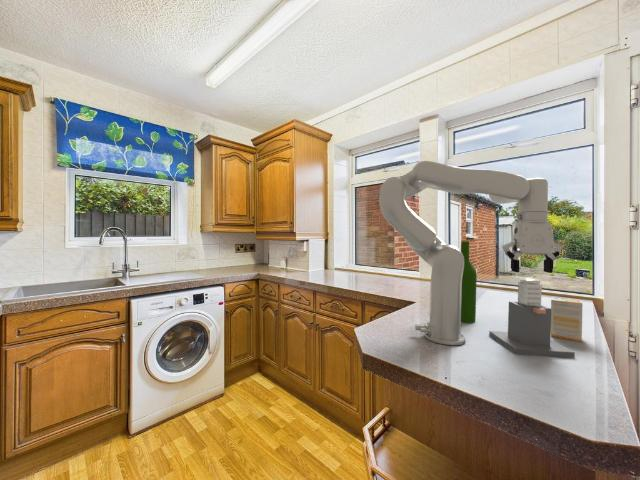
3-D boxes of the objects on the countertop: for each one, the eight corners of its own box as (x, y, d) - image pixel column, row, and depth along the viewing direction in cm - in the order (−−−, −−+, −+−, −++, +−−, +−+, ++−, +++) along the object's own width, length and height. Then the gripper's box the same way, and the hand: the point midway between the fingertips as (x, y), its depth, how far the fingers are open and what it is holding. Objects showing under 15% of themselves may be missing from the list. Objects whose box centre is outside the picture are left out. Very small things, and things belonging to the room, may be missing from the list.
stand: (515, 354, 84) (516, 310, 84) (489, 335, 100) (490, 298, 100) (574, 357, 82) (576, 312, 82) (538, 337, 98) (539, 300, 98)
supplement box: (581, 338, 98) (582, 300, 98) (581, 342, 95) (583, 303, 94) (550, 332, 104) (551, 296, 103) (549, 336, 100) (551, 299, 100)
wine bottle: (479, 321, 117) (482, 241, 116) (467, 324, 112) (469, 241, 111) (459, 315, 124) (461, 241, 124) (446, 318, 120) (448, 241, 119)
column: (524, 342, 89) (526, 280, 88) (514, 336, 94) (516, 278, 94) (542, 343, 88) (544, 281, 88) (531, 337, 93) (533, 278, 93)
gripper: (509, 217, 88) (509, 273, 88) (571, 217, 86) (570, 274, 86) (497, 219, 95) (496, 270, 95) (553, 218, 93) (552, 271, 93)
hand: (531, 272), depth 91 cm, fingers open, 9 cm apart
